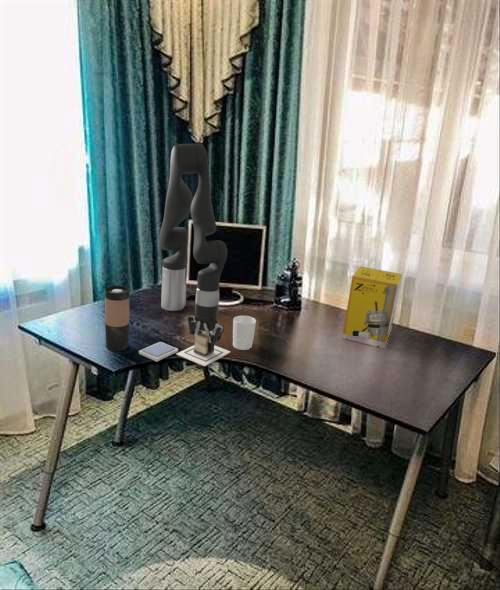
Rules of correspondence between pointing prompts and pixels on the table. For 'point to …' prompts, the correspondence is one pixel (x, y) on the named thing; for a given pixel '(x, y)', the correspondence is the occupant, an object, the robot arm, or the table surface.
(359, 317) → the packaging box
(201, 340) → the stamp
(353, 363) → the table surface
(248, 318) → the white cup
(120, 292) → the travel mug
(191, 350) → the sheet
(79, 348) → the table surface
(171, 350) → the ink pad
